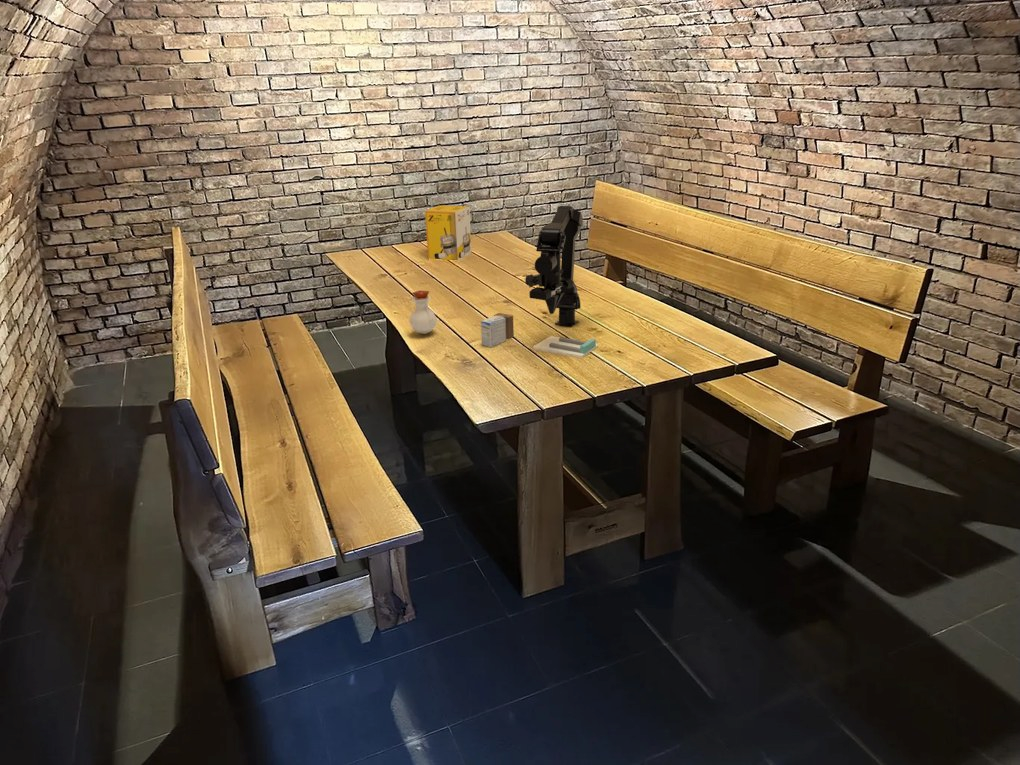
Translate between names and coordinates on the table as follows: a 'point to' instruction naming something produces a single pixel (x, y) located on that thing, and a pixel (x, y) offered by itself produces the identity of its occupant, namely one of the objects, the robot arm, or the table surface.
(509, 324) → the panel
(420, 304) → the potion bottle
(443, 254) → the packaging box
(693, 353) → the table surface
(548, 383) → the table surface
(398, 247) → the table surface
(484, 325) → the medicine box
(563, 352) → the rail board
